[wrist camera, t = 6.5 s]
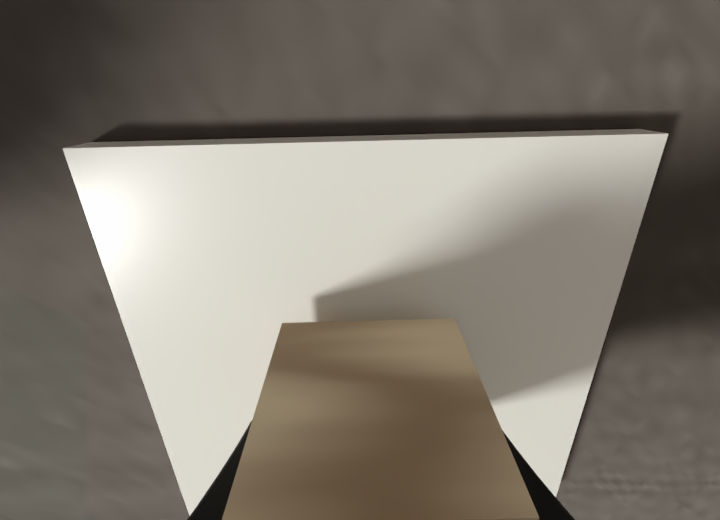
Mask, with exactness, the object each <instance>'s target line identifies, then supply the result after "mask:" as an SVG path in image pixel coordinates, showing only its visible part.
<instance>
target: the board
mask: <svg viewBox="0 0 720 520" xmlns="http://www.w3.org/2000/svg"><path fill="white" fill-rule="evenodd" d="M667 137H668V133H662V132H656V131H650V130H643V129H611V130H570V131H529V132H488V133H448V134H407V135H366V136H325V137H284V138H243V139H202V140H161V141H120V142H89V143H84V144H80V145H75V146H71V147H67V148H62V149H63V151H64V154H65V157H66V160H67V163H68V166H69V169H70V172H71V175H72V177H73V180H74V183H75V186H76V189H77V192H78V195H79V198H80V201H81V204H82V206H83V209H84V212H85V215H86V218H87V221H88V224H89V227H90V230H91V232H92V235H93V238H94V241H95V244H96V247H97V250H98V253H99V256H100V258H101V261H102V264H103V267H104V270H105V273H106V276H107V279H108V282H109V284H110V287H111V290H112V293H113V296H114V299H115V302H116V305H117V308H118V311H119V313H120V316H121V319H122V322H123V325H124V328H125V331H126V334H127V337H128V339H129V342H130V345H131V348H132V351H133V354H134V357H135V360H136V363H137V365H138V368H139V371H140V374H141V377H142V380H143V383H144V386H145V389H146V391H147V394H148V397H149V400H150V403H151V406H152V409H153V412H154V415H155V418H156V420H157V423H158V426H159V429H160V432H161V435H162V438H163V441H164V444H165V446H166V449H167V452H168V455H169V458H170V461H171V464H172V467H173V470H174V472H175V475H176V478H177V481H178V484H179V487H180V490H181V493H182V496H183V498H184V501H185V504H186V507H187V510H188V513H189V516H190V515H191V514H192V512H193V511H194V509H195V508H196V507H197V505H198V504H199V502H200V501H201V499H202V498H203V496H204V495H205V493H206V492H207V490H208V489H209V488H210V486H211V485H212V483H213V482H214V480H215V479H216V477H217V476H218V474H219V473H220V471H221V470H222V468H223V467H224V465H225V463H226V462H227V460H228V459H229V457H230V456H231V454H232V452H233V451H234V449H235V448H236V446H237V444H238V443H239V441H240V439H241V438H242V436H243V434H244V433H245V431H246V429H247V428H248V426H249V424H250V422H251V421H252V420H253V416H254V413H255V410H256V406H257V403H258V400H259V397H260V393H261V390H262V387H263V384H264V380H265V377H266V374H267V371H268V367H269V364H270V361H271V357H272V354H273V351H274V348H275V344H276V341H277V338H278V335H279V331H280V328H281V325H282V323H297V322H336V321H376V320H415V319H455V321H456V323H457V325H458V328H459V330H460V332H461V335H462V337H463V339H464V342H465V344H466V347H467V349H468V351H469V354H470V356H471V358H472V361H473V363H474V365H475V368H476V370H477V372H478V375H479V377H480V379H481V382H482V384H483V386H484V389H485V391H486V394H487V396H488V398H489V401H490V403H491V405H492V408H493V410H494V412H495V415H496V417H497V419H498V422H499V424H500V426H501V429H502V430H503V432H504V433H505V434H506V436H507V437H508V438H509V440H510V441H511V442H512V444H513V445H514V446H515V448H516V449H517V450H518V451H519V453H520V454H521V455H522V457H523V458H524V459H525V460H526V462H527V463H528V464H529V466H530V467H531V468H532V469H533V471H534V472H535V473H536V474H537V476H538V477H539V478H540V479H541V480H542V482H543V483H544V484H545V485H546V486H547V488H548V489H549V490H550V491H551V492H552V494H553V495H554V496H555V497H556V495H557V492H558V488H559V485H560V482H561V479H562V476H563V472H564V469H565V466H566V463H567V459H568V456H569V453H570V450H571V447H572V443H573V440H574V437H575V434H576V430H577V427H578V424H579V421H580V418H581V414H582V411H583V408H584V405H585V401H586V398H587V395H588V392H589V388H590V385H591V382H592V379H593V376H594V372H595V369H596V366H597V363H598V359H599V356H600V353H601V350H602V347H603V343H604V340H605V337H606V334H607V330H608V327H609V324H610V321H611V318H612V314H613V311H614V308H615V305H616V301H617V298H618V295H619V292H620V289H621V285H622V282H623V279H624V276H625V272H626V269H627V266H628V263H629V260H630V256H631V253H632V250H633V247H634V243H635V240H636V237H637V234H638V231H639V227H640V224H641V221H642V218H643V214H644V211H645V208H646V205H647V202H648V198H649V195H650V192H651V189H652V185H653V182H654V179H655V176H656V172H657V169H658V166H659V163H660V160H661V156H662V153H663V150H664V147H665V143H666V140H667Z"/></svg>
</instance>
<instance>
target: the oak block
mask: <svg viewBox="0 0 720 520" xmlns="http://www.w3.org/2000/svg"><path fill="white" fill-rule="evenodd" d="M222 520H539V516H538V513H537V511H536V509H535V506H534V504H533V502H532V499H531V497H530V495H529V492H528V490H527V488H526V485H525V483H524V481H523V478H522V476H521V473H520V471H519V469H518V466H517V464H516V462H515V459H514V457H513V455H512V452H511V450H510V448H509V445H508V443H507V441H506V438H505V436H504V433H503V431H502V429H501V426H500V424H499V422H498V419H497V417H496V415H495V412H494V410H493V408H492V405H491V403H490V401H489V398H488V396H487V394H486V391H485V389H484V386H483V384H482V382H481V379H480V377H479V375H478V372H477V370H476V368H475V365H474V363H473V361H472V358H471V356H470V354H469V351H468V349H467V347H466V344H465V342H464V339H463V337H462V335H461V332H460V330H459V328H458V325H457V323H456V321H455V319H415V320H376V321H336V322H297V323H282V325H281V328H280V331H279V335H278V338H277V341H276V344H275V348H274V351H273V354H272V357H271V361H270V364H269V367H268V371H267V374H266V377H265V380H264V384H263V387H262V390H261V393H260V397H259V400H258V403H257V406H256V410H255V413H254V416H253V420H252V423H251V426H250V429H249V433H248V436H247V439H246V442H245V446H244V449H243V452H242V455H241V459H240V462H239V465H238V468H237V472H236V475H235V478H234V482H233V485H232V488H231V491H230V495H229V498H228V501H227V504H226V508H225V511H224V514H223V517H222Z"/></svg>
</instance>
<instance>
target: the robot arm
mask: <svg viewBox="0 0 720 520" xmlns="http://www.w3.org/2000/svg"><path fill="white" fill-rule="evenodd" d="M251 423H252V421H251V422H250V424H249V426H248V428H247V429H246V431H245V433H244V434H243V436H242V438H241V439H240V441H239V443H238V444H237V446H236V448H235V449H234V451H233V452H232V454H231V456H230V457H229V459H228V460H227V462H226V463H225V465H224V467H223V468H222V470H221V471H220V473H219V474H218V476H217V477H216V479H215V480H214V482H213V483H212V485H211V486H210V488H209V489H208V490H207V492H206V493H205V495H204V496H203V498H202V499H201V501H200V502H199V504H198V505H197V507H196V508H195V509H194V511H193V512H192V514H191V515H190V516H189V518H188V519H187V520H222V517H223V514H224V511H225V508H226V504H227V501H228V498H229V495H230V491H231V488H232V485H233V482H234V478H235V475H236V472H237V468H238V465H239V462H240V459H241V455H242V452H243V449H244V446H245V442H246V439H247V436H248V433H249V429H250V426H251ZM502 431H503V430H502ZM503 433H504V432H503ZM504 436H505V438H506V441H507V443H508V445H509V448H510V450H511V452H512V455H513V457H514V459H515V462H516V464H517V466H518V469H519V471H520V473H521V476H522V478H523V481H524V483H525V485H526V488H527V490H528V492H529V495H530V497H531V499H532V502H533V504H534V506H535V509H536V511H537V513H538V516H539V520H575V519H574V518H573V517H572V516H571V515H570V514H569V512H568V511H567V510H566V509H565V508H564V507H563V506H562V504H561V503H560V502H559V501H558V500H557V498H556V497H555V496H554V495H553V494H552V492H551V491H550V490H549V489H548V488H547V486H546V485H545V484H544V483H543V482H542V480H541V479H540V478H539V477H538V476H537V474H536V473H535V472H534V471H533V469H532V468H531V467H530V466H529V464H528V463H527V462H526V460H525V459H524V458H523V457H522V455H521V454H520V453H519V451H518V450H517V449H516V448H515V446H514V445H513V444H512V442H511V441H510V440H509V438H508V437H507V436H506V434H505V433H504Z"/></svg>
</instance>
